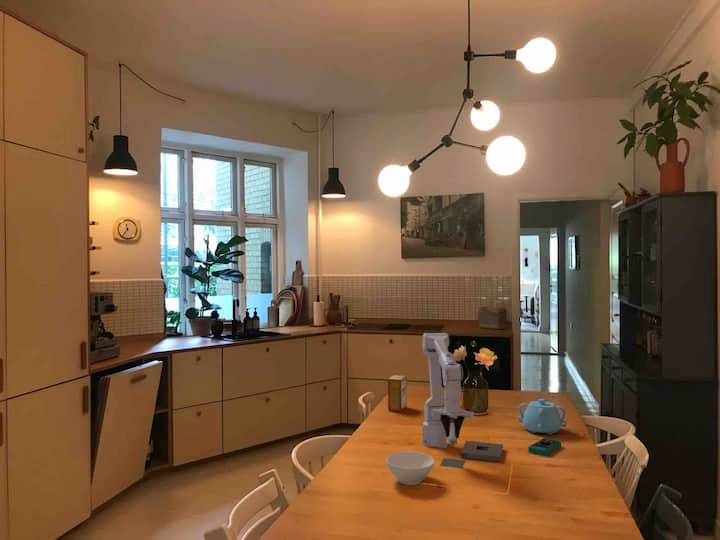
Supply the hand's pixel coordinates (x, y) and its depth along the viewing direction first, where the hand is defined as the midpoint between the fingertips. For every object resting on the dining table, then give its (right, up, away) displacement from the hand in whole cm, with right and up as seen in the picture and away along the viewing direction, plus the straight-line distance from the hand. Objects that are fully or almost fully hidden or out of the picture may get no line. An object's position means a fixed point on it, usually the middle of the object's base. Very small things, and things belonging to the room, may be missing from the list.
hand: (452, 436), depth 192 cm
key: (0, -2, 0) cm, 2 cm away
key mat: (0, -10, 0) cm, 10 cm away
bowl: (-17, -10, -14) cm, 24 cm away
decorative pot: (+45, -10, +39) cm, 60 cm away
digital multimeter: (+38, -10, +15) cm, 42 cm away
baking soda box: (-15, -10, +75) cm, 77 cm away
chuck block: (+13, -10, +9) cm, 19 cm away
